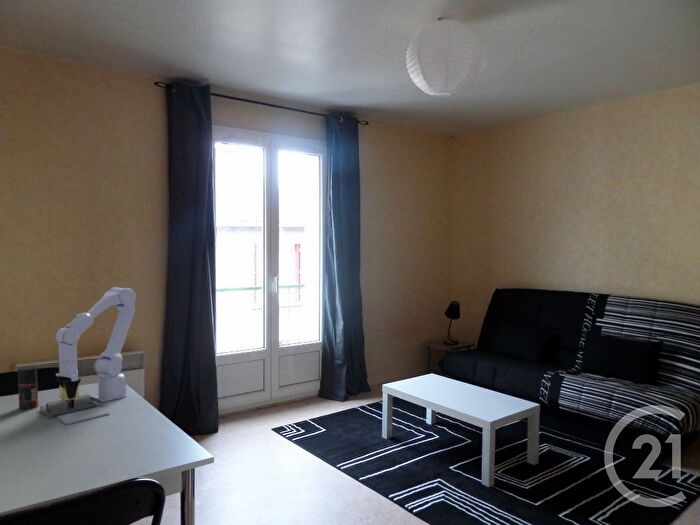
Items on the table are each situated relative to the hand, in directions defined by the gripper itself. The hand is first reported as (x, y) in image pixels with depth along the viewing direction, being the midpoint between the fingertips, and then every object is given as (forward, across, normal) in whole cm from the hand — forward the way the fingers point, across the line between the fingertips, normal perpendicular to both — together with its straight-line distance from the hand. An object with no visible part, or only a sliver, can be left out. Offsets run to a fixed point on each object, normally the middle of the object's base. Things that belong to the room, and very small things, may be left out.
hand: (69, 396), depth 181 cm
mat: (+5, +12, +1) cm, 13 cm away
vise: (+5, 0, 0) cm, 5 cm away
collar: (0, 0, 0) cm, 0 cm away
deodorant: (+5, -13, -10) cm, 17 cm away
